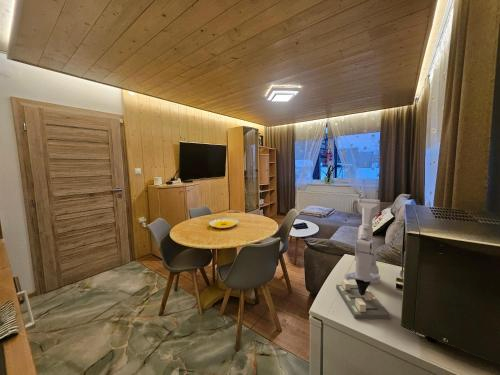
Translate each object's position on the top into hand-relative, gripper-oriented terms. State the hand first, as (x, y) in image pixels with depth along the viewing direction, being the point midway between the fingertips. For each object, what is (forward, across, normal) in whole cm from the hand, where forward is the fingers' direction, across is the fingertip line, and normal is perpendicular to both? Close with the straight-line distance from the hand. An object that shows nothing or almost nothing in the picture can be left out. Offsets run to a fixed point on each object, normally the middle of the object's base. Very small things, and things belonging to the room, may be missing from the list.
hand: (361, 294), depth 93 cm
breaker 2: (+1, -4, -7) cm, 8 cm away
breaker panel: (+4, 0, 0) cm, 4 cm away
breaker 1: (+1, -4, +7) cm, 8 cm away
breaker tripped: (+1, +2, 0) cm, 3 cm away
